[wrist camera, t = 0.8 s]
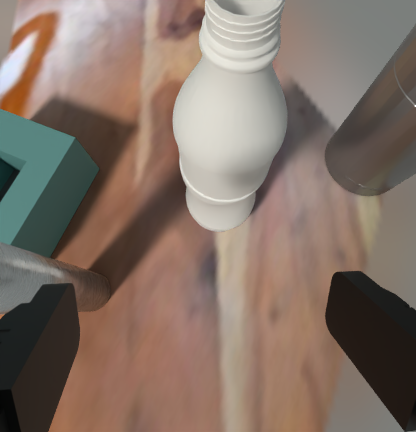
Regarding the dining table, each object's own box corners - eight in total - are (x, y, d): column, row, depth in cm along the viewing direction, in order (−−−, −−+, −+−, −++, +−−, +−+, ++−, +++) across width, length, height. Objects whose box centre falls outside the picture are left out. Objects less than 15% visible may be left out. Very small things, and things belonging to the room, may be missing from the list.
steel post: (84, 267, 33) (-50, 222, 16) (117, 281, 32) (16, 251, 15) (65, 302, 32) (-101, 296, 15) (99, 317, 31) (-31, 329, 14)
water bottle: (252, 235, 34) (362, 62, 10) (189, 238, 34) (147, 70, 10) (247, 176, 36) (326, -82, 12) (187, 179, 36) (148, -77, 12)
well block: (13, 135, 38) (-29, 98, 31) (99, 168, 36) (75, 137, 30) (-56, 237, 34) (-121, 220, 27) (37, 279, 32) (-6, 271, 26)
